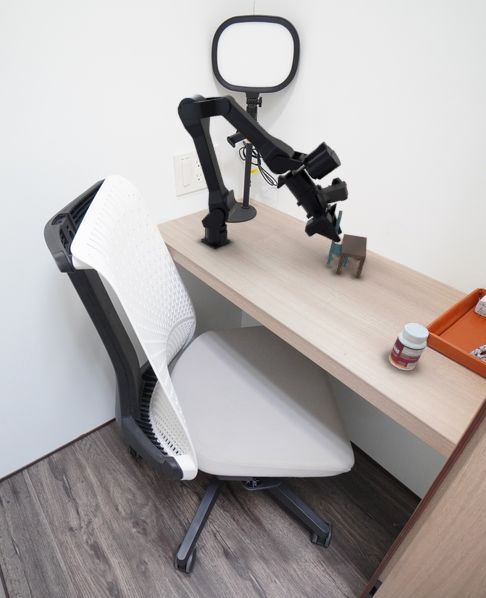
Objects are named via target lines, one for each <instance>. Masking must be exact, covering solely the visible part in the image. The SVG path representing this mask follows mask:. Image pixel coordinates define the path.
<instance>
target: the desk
mask: <svg viewBox="0 0 486 598" xmlns="http://www.w3.org/2000/svg"><path fill="white" fill-rule="evenodd" d="M367 243H368V238H367V237H366V236H360V235H354V234H348V233H347V234H346V233H344V234H343V236H342V239H341V243H340V244H342V248H341V254H340V255H338V257H339V259H338V262H337V266H336V270H335V275H340V274H341V270H342V268H343V263H344V256H345V257H349V258H351V259H356V260H359V263H358V267H357V269H356V272H355V279H356V278H357V279H360V277H361V274H362V272H363V268H364V265H365V261H366V258H367V245H368V244H367Z"/></svg>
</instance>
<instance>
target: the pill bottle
mask: <svg viewBox="0 0 486 598" xmlns="http://www.w3.org/2000/svg"><path fill="white" fill-rule="evenodd" d="M429 335H430V332H429V330H428V329H427V327H425V326H423V325H422V324H420V323H416V322H408V323H406V324H405V325H404V327H403V329H402V331H400V332H399V333H398V335H397V337H396V339H395V341H394V344H393V345H392V348H391V351H390V353H389V356H388V361H389V362H390V364H391V365H393V366H394V367H395V368H397V369H399V370H402V371H412V370H413V369H415V367H416V366H417V364H418V362H419V360H420V359H421V356H422V354H423V352H424V350H425V349H426V347H427V343H428V341H427V340H428V337H429Z"/></svg>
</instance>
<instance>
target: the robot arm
mask: <svg viewBox="0 0 486 598" xmlns="http://www.w3.org/2000/svg"><path fill="white" fill-rule="evenodd" d="M177 115H178V118H179V119H180V122H181V124H182V126H183V128H184V129H185V131H186V132H187V134H188V135H189V136H190V137H191V139H192V143H193V145H194V149H195V151H196V155H197V158H198V161H199V164H200V167H201V171H202V174H203V178H204V181H205V184H206V188H207V192H208V197H207V198H208V199H207V208H208V213H207V214H206V215H205V216H204V217H203V218H202V220H201V225H202V227H203V228H204V237H203V238H201V239H200V242H201V243H203V244H205V245H207V246H209V247H211V248H213V249H219V248H220V247H223V246H224V245H227V244H229V243H231V240H230V239H229V238H228V224H227V223H226V222H227V221H228V220H229V219H230V218H231V216H232V215H233V214H234V212H235V211H236V209H237V206H236V205H237V203H238V201H237V199H236V197H235V191H234V189H230V190H229V189H228V188H227V187H226V185H225V182H224V179H223V175H222V172H221V168H220V165H219V161H218V157H217V154H216V150H215V147H214V143H213V139H212V136H211V131H210V129H211V118H214V117H223V118H224V119H225V120H226V122H228V123H229V124H230V125H231V126H232V127H233V128H234V129H235V130H236V131H237V132H238V133H239V134H240V135H241V136H242V137H243V138H245V140H247V142H249V144H251V145H252V146H253V148H255V149H256V150H257V152H258V153H259V156H260V157H261V160H262V161H263V163H264V165H266V167H267V168H268V169H269V171H270V172H271V173H272V174H273V175H276V176H278V177H277V185H276V189H277V190H279V189H281V188H282V187H284V186H286V189H288V190H289V192H290V193H291V195H292V196H293V197H294V198H295V200H296V205H297V206H298V207H300V206H301V207H302V209H303V210H304V212H305V213H306V214H305V216H306V219H308V220H307V221H306V225H305V227H304V233H305V234H306V235H307V236H308V237H309V238H310V237H313V236H314V235H316V234H317V235H319V236H322V237H325V238H326V239H329V240H331V242H332V241H335V243H336V244H339V243H340V242H342V239H341V237H340V235H341V234H343V230H342V228H341V226H340V225H341V224H340V225H339V229H338V233H337V231H336V229H335V226H336V222H337V218H338V216H337V214H336V210H337V205H338V203H337V202H344V201H346V200H348V199H349V191H348V186H347V185H348V184H347V182H346V181H345V180H342V179H341V178H340V177H335V178H334V177H333V178H332V180H331V184H330V185H329V184H328V185H327V186H325V187H323V186H322V185H321V184H319V183H318V184H316V183H315V182H314V180H315V181H316V180H319V181H320V180H322V179H324V178H325V177H327V176H328V175H330V174H331V173H333V172H334V171H335V170H336V169H338V168H339V167H341V166H342V162H341V160H340V158H339V155H338V154H337V153H336V151H335V150H334V149H332V148H331V147H330V146H329V145H328V144H327V143H326V142H325V141H322V142H321V143H320V144H318V146H316V148H314V149H313V150H312V151H310V152H309V153H305V152H302V151H297V150H294V148H293V147H292V146H291V145H289V144H287V142H285V141H284V140H281V139H279V138H277V137H275V136H273V135H271V134H270V133H269V132H268V131H267V130H266V129H265V128H264V127H263V126H262V125H261V124H260V123H259V122H258V121H257V120H256V119H255V118H253V116H252V115H250V114H249V113H248V112H247V110H246V109H244V108H243V107H242V106H241V105H240V104H239V103H238V102H237V101H236V99H235V98H234V97H233V96H232V95H231V94H226V95H222V96H207V97H205V96H203V95H202V94H199V93H196V94H192V95H189V96H187V97H184V98H183V99H181V100H180V101H179V104H178V106H177ZM333 203H334V204H333ZM331 204H332V205H331Z"/></svg>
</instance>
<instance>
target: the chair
mask: <svg viewBox="0 0 486 598" xmlns="http://www.w3.org/2000/svg"><path fill="white" fill-rule="evenodd" d="M342 217H343V210H338V215H337V222H336V226H335V229H336V231H337V233H338V229H339V225H341V221H342ZM341 248H342V244H341V243H337V242H335V241H332V240H331V243H330V248H329V252H328V255H327V256H328V257H327V261H326V265H330V264H331V261H332V256H333V255H334V256H335V255H336V256H339V255H340V254H341ZM349 259H350V257H345V256H344V259H343V263H342V268H347V265H348V261H349Z"/></svg>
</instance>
